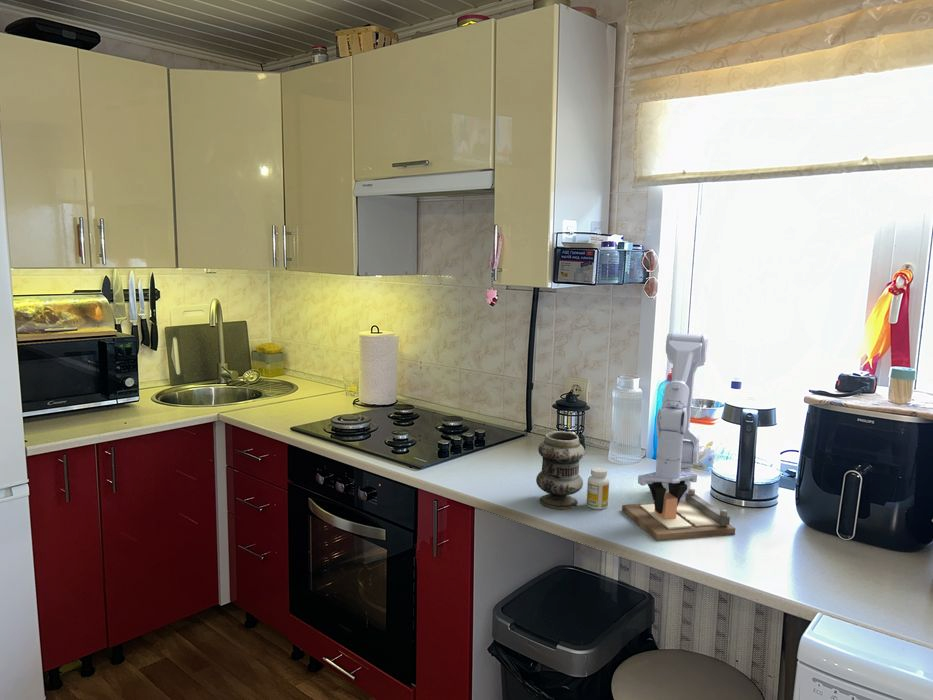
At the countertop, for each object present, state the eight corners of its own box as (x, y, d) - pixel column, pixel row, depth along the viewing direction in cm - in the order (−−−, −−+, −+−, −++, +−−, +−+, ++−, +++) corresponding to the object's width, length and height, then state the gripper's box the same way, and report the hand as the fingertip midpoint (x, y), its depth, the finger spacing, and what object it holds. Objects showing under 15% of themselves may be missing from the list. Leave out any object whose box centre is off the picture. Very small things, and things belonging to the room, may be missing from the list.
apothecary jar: (570, 515, 169) (573, 444, 166) (527, 504, 175) (529, 436, 173) (589, 500, 179) (592, 433, 176) (547, 490, 185) (550, 426, 183)
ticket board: (621, 510, 173) (623, 491, 172) (693, 505, 177) (694, 486, 176) (657, 540, 155) (658, 519, 155) (734, 534, 160) (736, 513, 159)
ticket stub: (640, 506, 171) (641, 485, 171) (661, 504, 173) (663, 484, 172) (668, 529, 158) (670, 506, 157) (691, 527, 159) (693, 505, 158)
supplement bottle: (605, 502, 178) (607, 466, 177) (610, 510, 173) (612, 473, 171) (584, 501, 178) (586, 466, 177) (588, 509, 173) (590, 472, 171)
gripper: (649, 464, 158) (645, 519, 160) (705, 460, 161) (701, 515, 163) (635, 454, 164) (631, 508, 166) (689, 451, 168) (685, 504, 170)
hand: (665, 511), depth 165 cm, fingers closed on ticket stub, 3 cm apart
